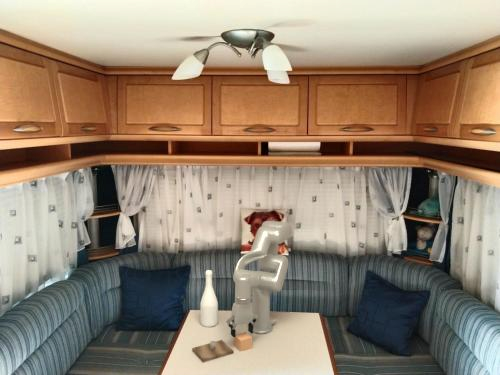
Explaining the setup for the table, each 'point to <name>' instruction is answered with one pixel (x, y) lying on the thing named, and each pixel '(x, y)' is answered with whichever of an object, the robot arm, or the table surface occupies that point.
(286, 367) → the table surface
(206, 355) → the base plate
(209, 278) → the wine bottle
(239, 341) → the light orange cube
